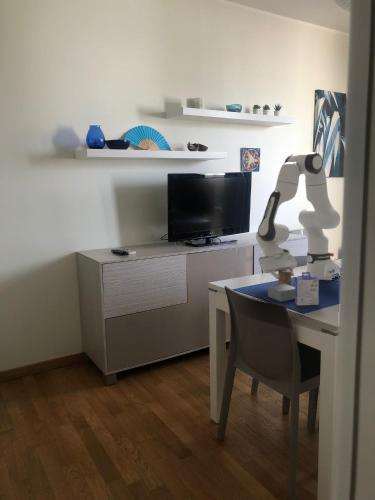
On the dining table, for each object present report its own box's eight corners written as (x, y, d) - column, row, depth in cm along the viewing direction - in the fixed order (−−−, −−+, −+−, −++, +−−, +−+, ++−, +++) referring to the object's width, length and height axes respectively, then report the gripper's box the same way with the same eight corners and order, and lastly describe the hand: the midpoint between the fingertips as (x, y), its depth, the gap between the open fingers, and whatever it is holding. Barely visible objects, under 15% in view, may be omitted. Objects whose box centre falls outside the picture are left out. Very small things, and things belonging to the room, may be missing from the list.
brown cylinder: (285, 288, 215) (285, 269, 213) (290, 290, 211) (291, 271, 209) (278, 289, 213) (278, 270, 211) (283, 291, 209) (283, 272, 207)
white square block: (284, 293, 206) (284, 283, 205) (297, 298, 197) (297, 288, 196) (268, 296, 202) (268, 286, 201) (280, 301, 193) (280, 291, 192)
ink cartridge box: (315, 301, 191) (316, 271, 189) (319, 305, 186) (319, 274, 183) (294, 302, 191) (294, 272, 189) (297, 305, 186) (297, 274, 183)
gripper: (259, 253, 210) (271, 276, 203) (291, 249, 219) (303, 270, 212) (254, 261, 215) (266, 283, 208) (286, 256, 223) (298, 277, 216)
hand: (285, 276), depth 210 cm, fingers open, 8 cm apart
